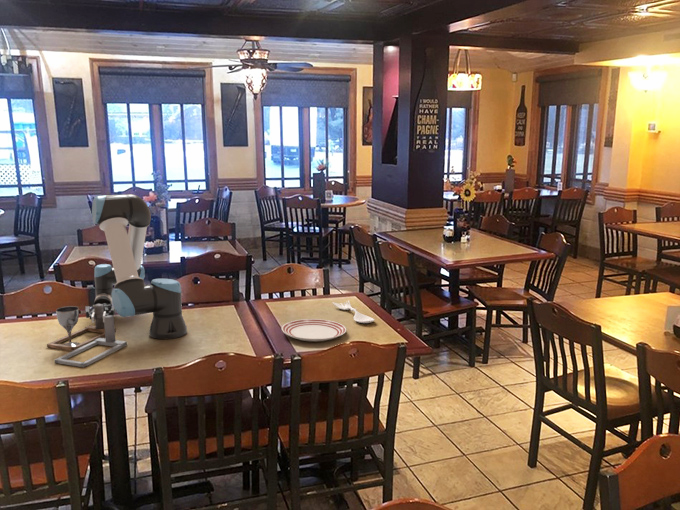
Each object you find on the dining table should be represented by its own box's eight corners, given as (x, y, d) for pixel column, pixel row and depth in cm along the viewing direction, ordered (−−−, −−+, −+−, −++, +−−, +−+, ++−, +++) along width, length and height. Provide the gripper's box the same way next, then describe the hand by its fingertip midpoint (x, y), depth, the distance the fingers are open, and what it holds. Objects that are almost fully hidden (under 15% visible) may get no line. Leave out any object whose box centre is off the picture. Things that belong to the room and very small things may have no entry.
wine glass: (67, 350, 225) (63, 313, 222) (55, 346, 229) (51, 309, 226) (85, 344, 231) (82, 308, 228) (73, 340, 236) (70, 304, 233)
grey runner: (127, 344, 231) (125, 317, 229) (84, 367, 208) (81, 336, 206) (100, 341, 235) (98, 313, 233) (54, 362, 212) (51, 332, 210)
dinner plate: (316, 320, 267) (316, 313, 266) (359, 335, 248) (359, 328, 247) (268, 334, 248) (268, 326, 247) (311, 351, 229) (311, 343, 228)
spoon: (348, 306, 291) (348, 299, 290) (378, 325, 262) (378, 317, 261) (331, 307, 287) (332, 301, 286) (360, 327, 258) (360, 320, 258)
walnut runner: (116, 331, 246) (114, 305, 244) (74, 351, 224) (72, 322, 221) (90, 328, 250) (88, 302, 248) (47, 347, 227) (44, 318, 225)
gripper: (123, 310, 265) (120, 326, 243) (83, 313, 260) (76, 329, 239) (122, 294, 264) (119, 309, 242) (82, 297, 259) (75, 312, 237)
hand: (98, 319), depth 240 cm, fingers closed on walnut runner, 4 cm apart
